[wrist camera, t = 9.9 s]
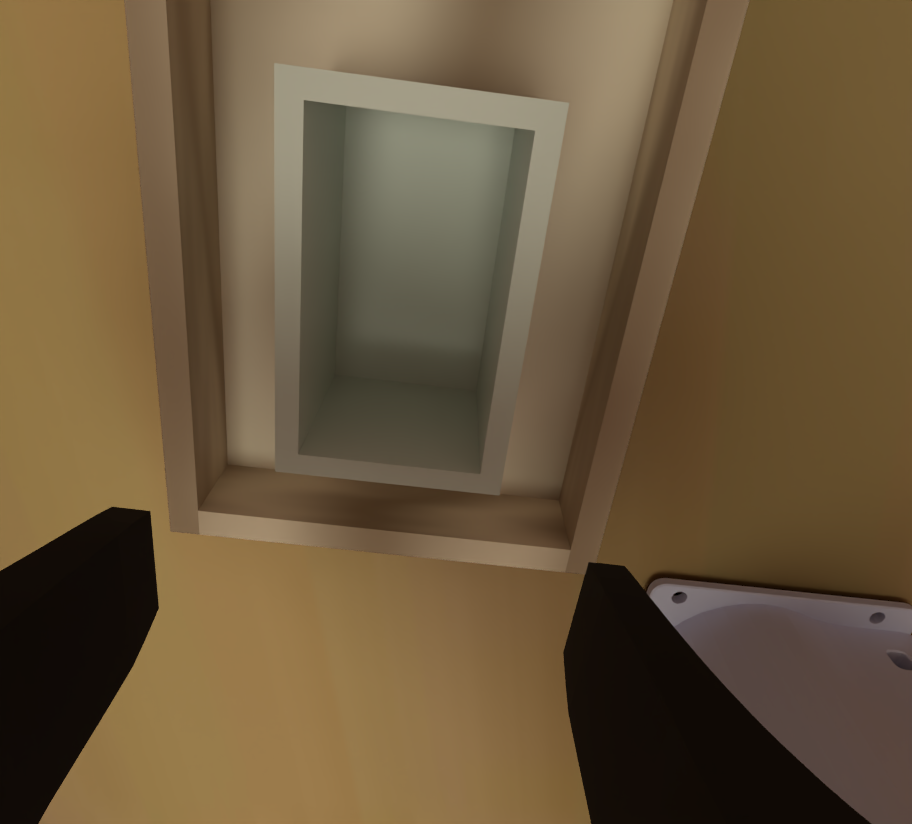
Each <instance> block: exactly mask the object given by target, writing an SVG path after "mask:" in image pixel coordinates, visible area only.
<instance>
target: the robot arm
mask: <svg viewBox="0 0 912 824" xmlns="http://www.w3.org/2000/svg"><path fill="white" fill-rule="evenodd" d="M677 592H682V593H681V594H679V595H676V596H673V594H675V593H677ZM158 609H159V606H158V595H157V583H156V572H155V561H154V549H153V538H152V526H151V515H150V511H144V510H135V509H127V508H118V507H111V508H109V509H107V510H105V511H103V512H101V513H99V514H98V515H96V516H94V517H92V518H90V519H89V520H87V521H85V522H83V523H82V524H80V525H78V526H77V527H75V528H73V529H71V530H70V531H68V532H66V533H65V534H63V535H61V536H60V537H58V538H56V539H55V540H53V541H51V542H49V543H48V544H46V545H44V546H43V547H41V548H39V549H38V550H36V551H34V552H32V553H31V554H29V555H27V556H26V557H24V558H22V559H20V560H19V561H17V562H15V563H13V564H12V565H10V566H8V567H6V568H5V569H3V570H1V571H0V824H38V823H39V821H40V820H41V818H42V816H43V814H44V812H45V811H46V809H47V807H48V805H49V804H50V802H51V800H52V799H53V797H54V795H55V794H56V792H57V790H58V789H59V787H60V786H61V784H62V782H63V781H64V779H65V777H66V776H67V774H68V772H69V771H70V769H71V768H72V766H73V764H74V763H75V761H76V759H77V758H78V756H79V754H80V753H81V751H82V750H83V748H84V746H85V745H86V743H87V741H88V740H89V738H90V737H91V735H92V733H93V732H94V730H95V728H96V727H97V725H98V723H99V722H100V720H101V719H102V717H103V715H104V714H105V712H106V710H107V709H108V707H109V705H110V704H111V702H112V700H113V699H114V697H115V695H116V694H117V692H118V690H119V689H120V687H121V685H122V684H123V682H124V680H125V679H126V677H127V675H128V674H129V672H130V670H131V668H132V667H133V665H134V663H135V660H136V658H137V656H138V654H139V652H140V650H141V648H142V645H143V643H144V641H145V639H146V637H147V634H148V632H149V630H150V627H151V625H152V623H153V620H154V618H155V616H156V613H157V611H158ZM874 613H875V614H874ZM872 614H873V615H872ZM911 633H912V606H911V605H910V604H907V603H902V602H892V601H882V600H873V599H863V598H854V597H844V596H834V595H825V594H815V593H806V592H796V591H786V590H777V589H767V588H758V587H748V586H739V585H729V584H719V583H710V582H700V581H691V580H681V579H671V578H660V579H657V580H654V581H653V582H652V583H651V584H650V585H649V587H648V589H647V593H646V592H645V590H644V589H643V588H642V587H641V585H640V584H639V583H638V582H637V580H636V579H635V578H634V577H633V576H632V574H631V573H630V572H629V571H628V570H627V568H626V567H625V566H619V565H610V564H602V563H593V562H588V566H587V570H586V573H585V577H584V580H583V584H582V588H581V591H580V595H579V598H578V602H577V605H576V609H575V613H574V616H573V620H572V623H571V627H570V631H569V634H568V638H567V641H566V645H565V649H564V652H563V654H564V667H565V680H566V692H567V702H568V712H569V717H570V723H571V728H572V733H573V738H574V742H575V747H576V752H577V757H578V762H579V767H580V772H581V776H582V781H583V786H584V791H585V796H586V800H587V805H588V810H589V815H590V819H591V824H912V636H911V635H910V634H911Z"/></svg>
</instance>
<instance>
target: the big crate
mask: <svg viewBox="0 0 912 824" xmlns="http://www.w3.org/2000/svg"><path fill="white" fill-rule="evenodd" d="M124 2H125V13H126V25H127V36H128V48H129V59H130V71H131V82H132V94H133V105H134V117H135V128H136V140H137V151H138V163H139V174H140V186H141V197H142V209H143V220H144V232H145V243H146V255H147V266H148V278H149V289H150V301H151V312H152V324H153V335H154V347H155V358H156V370H157V381H158V393H159V404H160V416H161V427H162V439H163V450H164V462H165V473H166V485H167V496H168V508H169V519H170V531H172V532H181V533H191V534H200V535H210V536H220V537H229V538H239V539H249V540H258V541H268V542H277V543H287V544H297V545H306V546H316V547H326V548H335V549H345V550H355V551H364V552H374V553H383V554H393V555H403V556H412V557H422V558H432V559H441V560H451V561H460V562H470V563H480V564H489V565H499V566H509V567H518V568H528V569H537V570H547V571H557V572H566V573H576V574H585V573H586V570H587V566H588V562H593V563H596V560H597V557H598V553H599V549H600V546H601V542H602V538H603V535H604V531H605V527H606V524H607V520H608V516H609V513H610V509H611V505H612V502H613V498H614V494H615V491H616V487H617V484H618V480H619V476H620V473H621V469H622V465H623V462H624V458H625V454H626V451H627V447H628V443H629V440H630V436H631V432H632V429H633V425H634V421H635V418H636V414H637V410H638V407H639V403H640V399H641V396H642V392H643V388H644V385H645V381H646V377H647V374H648V370H649V366H650V363H651V359H652V355H653V352H654V348H655V344H656V341H657V337H658V333H659V330H660V326H661V322H662V319H663V315H664V311H665V308H666V304H667V300H668V297H669V293H670V289H671V286H672V282H673V278H674V275H675V271H676V267H677V264H678V260H679V256H680V253H681V249H682V246H683V242H684V238H685V235H686V231H687V227H688V224H689V220H690V216H691V213H692V209H693V205H694V202H695V198H696V194H697V191H698V187H699V183H700V180H701V176H702V172H703V169H704V165H705V161H706V158H707V154H708V150H709V147H710V143H711V139H712V136H713V132H714V128H715V125H716V121H717V117H718V114H719V110H720V106H721V103H722V99H723V95H724V92H725V88H726V84H727V81H728V77H729V73H730V70H731V66H732V62H733V59H734V55H735V51H736V48H737V44H738V40H739V37H740V33H741V29H742V26H743V22H744V18H745V15H746V11H747V8H748V4H749V0H124ZM274 63H278V64H285V65H293V66H300V67H307V68H315V69H322V70H330V71H337V72H344V73H352V74H359V75H367V76H374V77H382V78H389V79H396V80H404V81H411V82H419V83H426V84H433V85H441V86H448V87H456V88H463V89H471V90H478V91H485V92H493V93H500V94H508V95H515V96H522V97H530V98H537V99H545V100H552V101H559V102H567V103H569V108H568V113H567V119H566V124H565V130H564V136H563V141H562V147H561V152H560V158H559V164H558V169H557V175H556V180H555V186H554V192H553V197H552V203H551V209H550V214H549V220H548V225H547V231H546V237H545V242H544V248H543V253H542V259H541V265H540V270H539V276H538V281H537V287H536V293H535V298H534V304H533V309H532V315H531V321H530V326H529V332H528V338H527V343H526V349H525V354H524V360H523V366H522V371H521V377H520V382H519V388H518V394H517V399H516V405H515V410H514V416H513V422H512V427H511V433H510V439H509V444H508V450H507V455H506V461H505V467H504V472H503V478H502V483H501V489H500V495H499V496H498V495H489V494H480V493H470V492H461V491H452V490H442V489H433V488H424V487H414V486H405V485H396V484H386V483H377V482H368V481H358V480H349V479H340V478H330V477H321V476H312V475H302V474H293V473H284V472H275V216H274Z"/></svg>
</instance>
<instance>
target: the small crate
mask: <svg viewBox="0 0 912 824" xmlns="http://www.w3.org/2000/svg"><path fill="white" fill-rule="evenodd" d="M568 108H569V103H567V102H559V101H552V100H545V99H537V98H530V97H522V96H515V95H508V94H500V93H493V92H485V91H478V90H471V89H463V88H456V87H448V86H441V85H433V84H426V83H419V82H411V81H404V80H396V79H389V78H382V77H374V76H367V75H359V74H352V73H344V72H337V71H330V70H322V69H315V68H307V67H300V66H293V65H285V64H278V63H274V216H275V472H284V473H293V474H302V475H312V476H321V477H330V478H340V479H349V480H358V481H368V482H377V483H386V484H396V485H405V486H414V487H424V488H433V489H442V490H452V491H461V492H470V493H480V494H489V495H498V496H499V495H500V489H501V483H502V478H503V472H504V467H505V461H506V455H507V450H508V444H509V439H510V433H511V427H512V422H513V416H514V410H515V405H516V399H517V394H518V388H519V382H520V377H521V371H522V366H523V360H524V354H525V349H526V343H527V338H528V332H529V326H530V321H531V315H532V309H533V304H534V298H535V293H536V287H537V281H538V276H539V270H540V265H541V259H542V253H543V248H544V242H545V237H546V231H547V225H548V220H549V214H550V209H551V203H552V197H553V192H554V186H555V180H556V175H557V169H558V164H559V158H560V152H561V147H562V141H563V136H564V130H565V124H566V119H567V113H568Z"/></svg>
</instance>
